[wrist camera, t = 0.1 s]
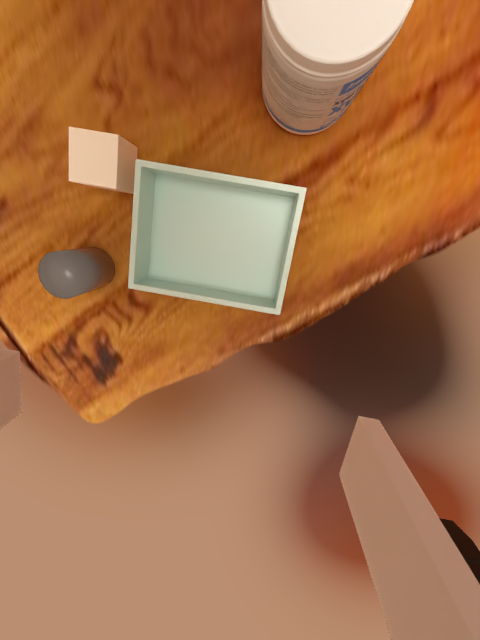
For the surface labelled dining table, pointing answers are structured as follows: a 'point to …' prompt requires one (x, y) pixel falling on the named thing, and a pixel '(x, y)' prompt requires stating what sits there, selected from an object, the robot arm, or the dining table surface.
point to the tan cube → (101, 160)
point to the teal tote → (212, 236)
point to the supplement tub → (322, 56)
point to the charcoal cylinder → (75, 271)
